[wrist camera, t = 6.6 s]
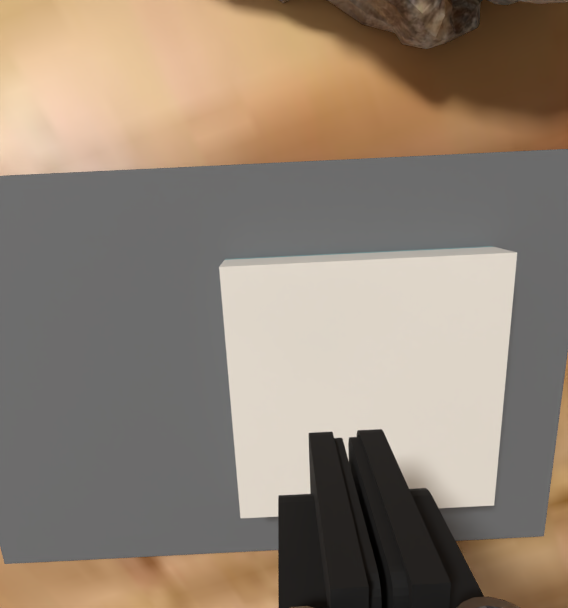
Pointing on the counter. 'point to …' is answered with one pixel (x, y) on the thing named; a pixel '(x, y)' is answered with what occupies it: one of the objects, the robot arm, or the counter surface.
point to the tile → (369, 365)
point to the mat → (211, 336)
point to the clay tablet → (421, 17)
